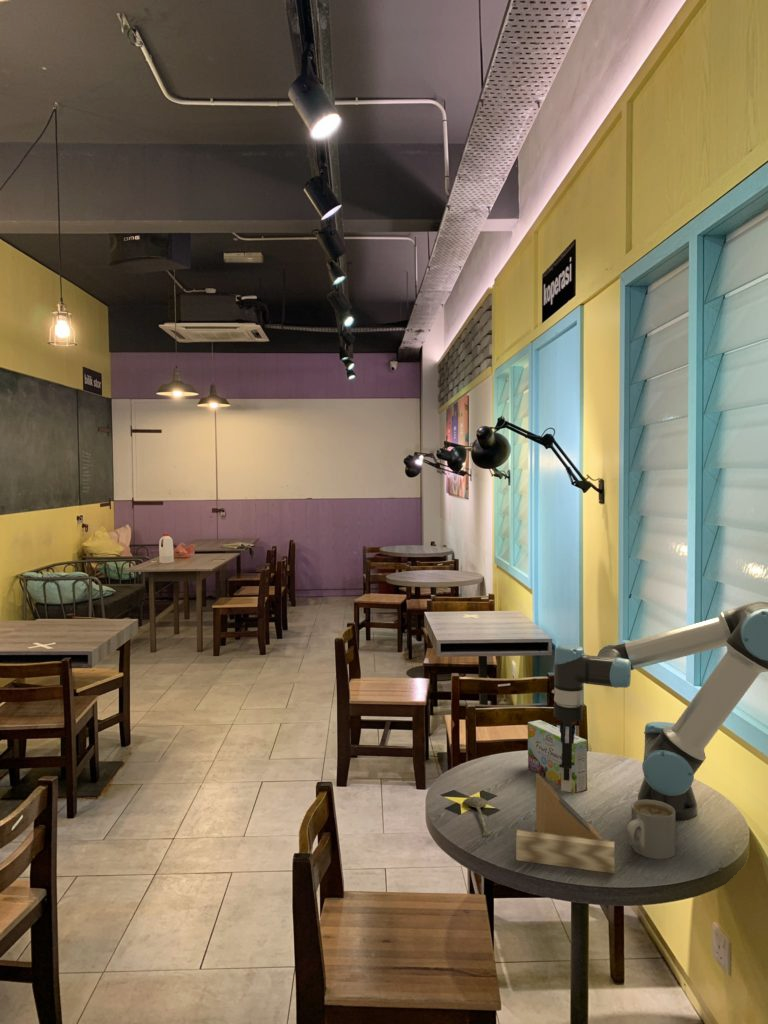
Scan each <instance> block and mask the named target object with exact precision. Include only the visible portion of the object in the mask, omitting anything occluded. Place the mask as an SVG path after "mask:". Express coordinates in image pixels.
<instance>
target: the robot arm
mask: <svg viewBox="0 0 768 1024" xmlns="http://www.w3.org/2000/svg"><path fill="white" fill-rule="evenodd" d="M723 647H726V652H725V654H724V655H723V656H722V658H721V660H720V661H719V663H718V664H717V665H716V667H715V668H714V669H713V671H712V672H711V673H710V675H709V676H708V677H707V679H706V680H705V682H704V683H703V685H701V687H700V688H699V690H698V691H697V693H696V694H695V695H694V697H693V698H692V700H691V701H690V703H689V704H688V705H687V707H686V708H685V709H684V711H683V713H681V715H680V716H679V718H678V719H677V720H676V722H675V723H674V722H669V721H668V722H666V721H650V722H647V723H646V724H645V726H644V732H643V734H644V751H643V762H642V767H641V768H642V772H643V776H644V777H643V781H642V783H641V786H640V788H639V791H638V794H637V801H638V800H645V799H647V800H656V801H661V802H664V803H666V804H669V805H670V806H672V807H673V808H674V809H675V821H677V820H681V821H682V820H688V819H691V818H693V817H695V816H696V815H697V814H698V803H697V800H696V797H695V794H694V792H693V788H692V785H693V783H694V779H695V774H696V772H697V771H698V769H699V768H700V767H701V766H702V764H703V763H704V762H705V760H706V759H707V757H706V752H705V749H706V747H707V746H708V744H709V743H710V742H711V740H712V739H713V737H714V736H715V735H716V734H717V732H718V731H719V730H720V728H721V726H722V725H723V724H724V723H725V721H727V720H726V719H728V717H729V716H730V714H732V712H733V711H734V709H735V708H736V706H737V705H738V704H739V702H740V701H741V699H742V698H743V697H744V696H745V694H746V693H747V691H748V690H749V688H751V686H752V685H753V684H754V682H755V681H756V679H757V678H758V677H759V676H760V674H761V673H766V672H768V602H766V601H756V602H755V601H754V602H750V603H747V604H744V605H741V606H738V607H736V608H732V609H729V610H725V611H722V612H720V614H719V615H718V616H717V617H715V618H711V619H707V620H704V621H700V622H696V623H693V624H689V625H686V626H681V627H679V628H675V629H671V630H668V631H667V630H666V631H663V632H660V633H656V634H653V635H649V636H645V637H641V638H637V639H634V640H631V641H626V642H623V643H619V644H607V645H605V646H604V647H602V648H601V649H600V650H599V651H598V653H597V655H588V654H585V652H584V651H585V650H584V648H583V647H582V646H580V645H576V644H560V645H558V646H557V647H556V648H555V652H554V653H555V654H554V663H553V665H554V668H553V669H554V671H553V672H554V674H553V675H554V678H553V686H554V689H552V690H551V693H552V694H554V695H553V701H554V703H553V717H554V718H555V719H557V720H558V721H562V722H560V724H559V728H560V733H561V742H562V764H559V767H562V768H561V786H560V792H561V791H562V792H569V793H572V792H571V790H572V765H574V762H572V744H573V743H574V735H575V734H576V723H574V722H580V721H581V720H582V719H583V709H584V708H583V705H582V704H584V684H586V685H595V686H604V687H610V688H616V689H617V688H629V687H630V685H631V677H632V674H631V673H632V671H633V670H636V669H640V668H644V667H648V666H653V665H657V664H660V663H663V662H664V663H665V662H668V661H672V660H676V659H681V658H684V657H688V656H692V655H695V654H700V653H705V652H708V651H712V650H715V649H719V648H723Z"/></svg>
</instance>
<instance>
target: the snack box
mask: <svg viewBox="0 0 768 1024" xmlns="http://www.w3.org/2000/svg"><path fill="white" fill-rule="evenodd" d="M572 762H574V765H572V790H571V792H570V793H572V794H578V793H582V792H584V791H588V740H587V739H585V738H582V737H580V736H579V735H575V734H574V743H573V744H572ZM559 764H562V742H561V733H560V727H557V726H554V725H552V724H550V723H548V722H546V721H543V720H541V719H537V720H533V721H528V722H527V768H529V769H528V770H530V771H531V772H534V773H535V774H537V773H538V774H540V776H541V775H542V776H541V777H542V778H545V779H547V780H548V779H549V781H550V782H552V783H554V784H556V785H558V786H559V785H560V786H559V787H561V768H562V767H559Z"/></svg>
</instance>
